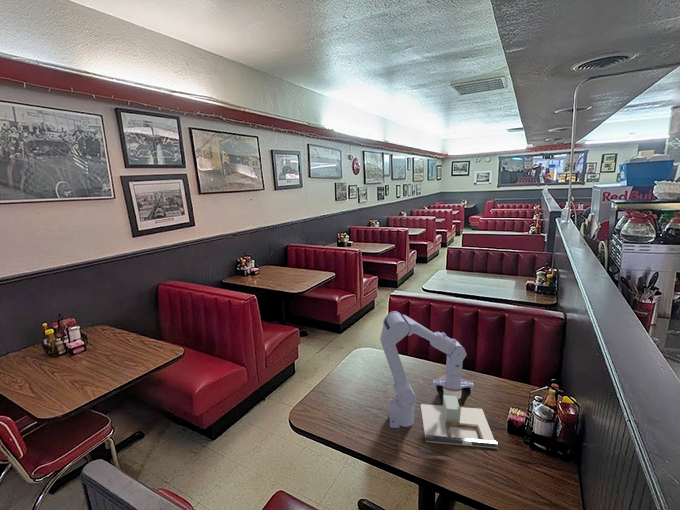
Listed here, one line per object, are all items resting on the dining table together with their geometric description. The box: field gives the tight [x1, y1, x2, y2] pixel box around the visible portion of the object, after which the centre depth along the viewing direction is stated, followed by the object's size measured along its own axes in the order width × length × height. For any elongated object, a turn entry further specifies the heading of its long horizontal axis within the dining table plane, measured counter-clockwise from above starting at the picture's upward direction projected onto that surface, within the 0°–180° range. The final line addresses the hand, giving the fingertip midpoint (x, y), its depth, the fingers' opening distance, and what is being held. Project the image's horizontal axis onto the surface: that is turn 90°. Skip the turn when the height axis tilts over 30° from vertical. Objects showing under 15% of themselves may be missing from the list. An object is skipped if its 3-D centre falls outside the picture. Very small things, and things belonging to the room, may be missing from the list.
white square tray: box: [420, 403, 499, 449], centre depth 125 cm, size 24×20×2 cm
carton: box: [442, 395, 461, 423], centre depth 129 cm, size 5×8×6 cm, turn 172°
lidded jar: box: [437, 373, 464, 401], centre depth 141 cm, size 11×11×9 cm
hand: (451, 403), depth 128 cm, fingers open, 7 cm apart
